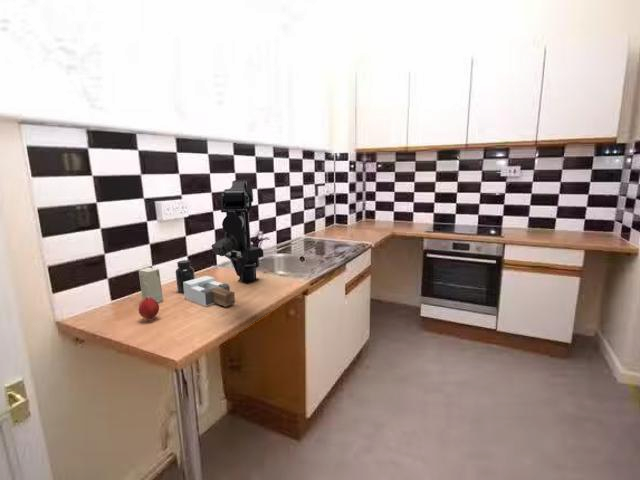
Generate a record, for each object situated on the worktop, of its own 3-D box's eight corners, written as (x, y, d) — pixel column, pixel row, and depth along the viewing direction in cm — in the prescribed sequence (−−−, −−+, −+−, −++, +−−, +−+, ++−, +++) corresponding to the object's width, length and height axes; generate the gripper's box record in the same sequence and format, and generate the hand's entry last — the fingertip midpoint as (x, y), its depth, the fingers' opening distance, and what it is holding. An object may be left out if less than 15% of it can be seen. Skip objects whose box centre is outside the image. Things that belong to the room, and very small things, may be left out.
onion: (137, 319, 108) (134, 295, 106) (156, 314, 111) (153, 291, 110) (143, 325, 103) (140, 300, 102) (162, 319, 107) (160, 295, 106)
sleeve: (208, 290, 134) (206, 275, 132) (230, 298, 125) (229, 282, 124) (184, 298, 126) (183, 282, 125) (206, 306, 117) (205, 289, 116)
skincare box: (163, 301, 123) (160, 269, 121) (152, 305, 119) (148, 272, 117) (152, 298, 126) (149, 266, 124) (141, 302, 123) (137, 269, 120)
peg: (218, 297, 125) (217, 286, 124) (235, 303, 118) (234, 292, 118) (208, 300, 121) (207, 289, 121) (225, 306, 115) (224, 295, 115)
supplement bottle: (190, 286, 139) (187, 258, 137) (199, 290, 135) (196, 260, 132) (174, 291, 134) (171, 261, 131) (183, 294, 129) (180, 264, 127)
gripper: (197, 229, 107) (201, 276, 110) (234, 235, 96) (237, 287, 99) (226, 225, 116) (229, 268, 119) (263, 230, 105) (265, 278, 108)
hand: (239, 275), depth 111 cm, fingers closed
